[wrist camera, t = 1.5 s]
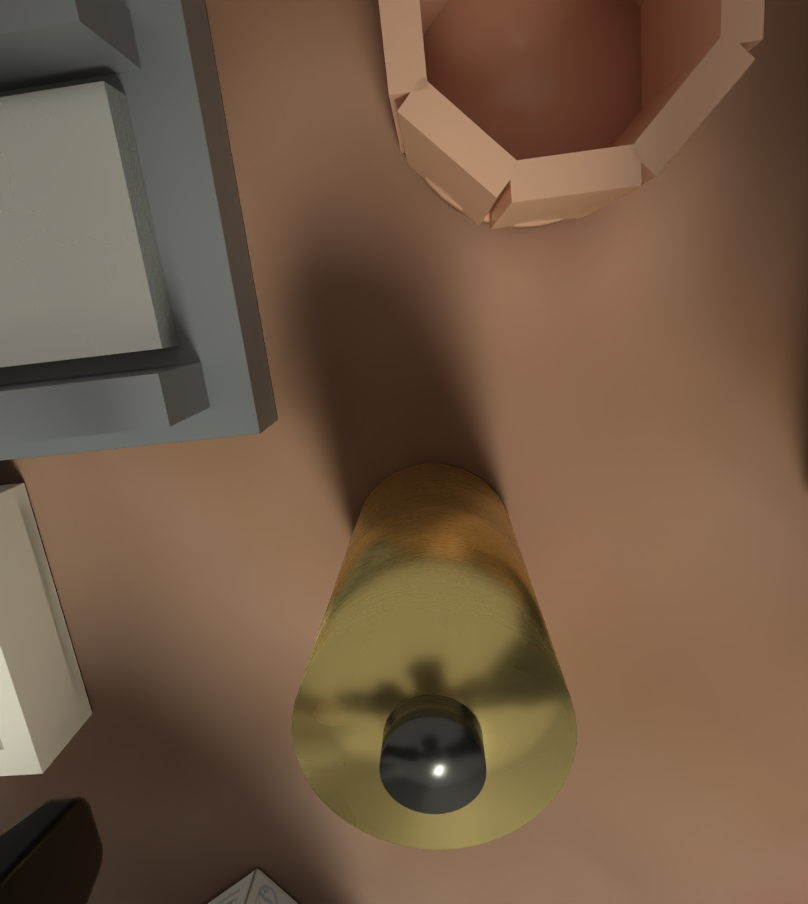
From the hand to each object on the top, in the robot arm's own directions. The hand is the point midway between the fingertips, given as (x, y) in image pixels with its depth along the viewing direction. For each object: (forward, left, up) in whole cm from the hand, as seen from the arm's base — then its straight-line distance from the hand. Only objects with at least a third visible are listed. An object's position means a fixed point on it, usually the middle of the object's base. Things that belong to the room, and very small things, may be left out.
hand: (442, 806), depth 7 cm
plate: (+8, -8, -7) cm, 13 cm away
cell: (0, 0, -8) cm, 8 cm away
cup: (-3, -10, -8) cm, 13 cm away
